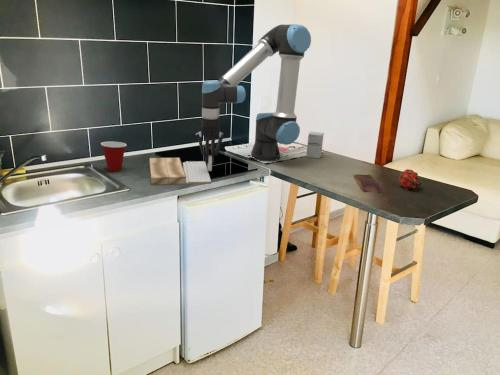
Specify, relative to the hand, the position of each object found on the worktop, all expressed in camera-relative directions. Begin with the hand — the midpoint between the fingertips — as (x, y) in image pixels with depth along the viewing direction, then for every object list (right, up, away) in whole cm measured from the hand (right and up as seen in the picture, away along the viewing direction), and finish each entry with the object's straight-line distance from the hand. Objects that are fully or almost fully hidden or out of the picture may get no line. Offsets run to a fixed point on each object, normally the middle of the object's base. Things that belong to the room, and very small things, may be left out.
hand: (209, 169), depth 192 cm
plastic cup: (-42, 0, -2) cm, 42 cm away
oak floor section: (-18, -2, -4) cm, 19 cm away
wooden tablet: (+70, -7, -3) cm, 71 cm away
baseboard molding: (-7, -2, -1) cm, 7 cm away
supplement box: (+52, +9, +37) cm, 65 cm away
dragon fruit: (+87, -8, -7) cm, 87 cm away
